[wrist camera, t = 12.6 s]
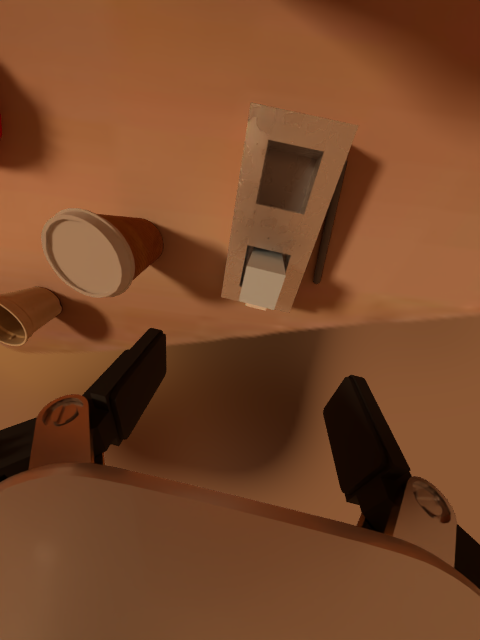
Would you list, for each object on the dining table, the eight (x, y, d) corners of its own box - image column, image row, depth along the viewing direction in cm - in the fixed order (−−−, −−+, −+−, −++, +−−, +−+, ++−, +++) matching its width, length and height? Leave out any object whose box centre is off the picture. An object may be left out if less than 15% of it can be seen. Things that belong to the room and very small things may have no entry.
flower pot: (21, 268, 37) (-41, 285, 30) (72, 293, 39) (24, 315, 31) (24, 306, 42) (-28, 329, 35) (69, 328, 43) (28, 354, 36)
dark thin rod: (337, 158, 23) (339, 157, 23) (346, 158, 23) (349, 157, 22) (312, 282, 31) (313, 284, 30) (318, 282, 31) (320, 285, 30)
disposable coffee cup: (174, 275, 34) (132, 307, 24) (120, 265, 34) (55, 293, 24) (172, 210, 29) (116, 216, 19) (108, 200, 29) (20, 201, 19)
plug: (254, 246, 29) (246, 265, 20) (281, 252, 29) (285, 275, 20) (247, 276, 31) (237, 305, 23) (272, 283, 31) (272, 314, 23)
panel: (254, 120, 23) (250, 102, 19) (342, 139, 23) (358, 125, 18) (227, 284, 33) (221, 297, 29) (287, 298, 33) (289, 313, 29)
